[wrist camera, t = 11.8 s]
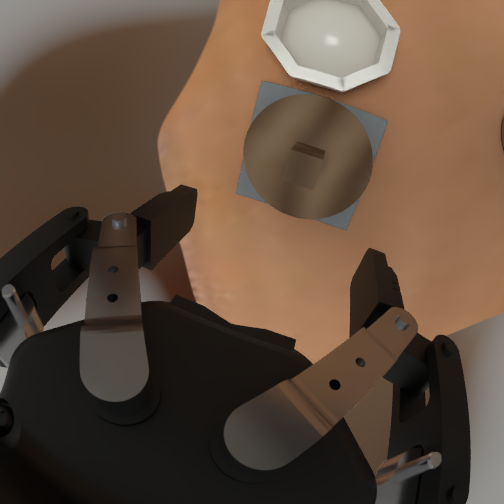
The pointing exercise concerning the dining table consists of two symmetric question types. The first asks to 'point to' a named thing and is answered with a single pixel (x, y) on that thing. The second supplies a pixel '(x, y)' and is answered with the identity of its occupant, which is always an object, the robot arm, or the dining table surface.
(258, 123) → the lid
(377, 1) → the bowl
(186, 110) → the dining table surface
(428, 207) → the dining table surface
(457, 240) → the dining table surface
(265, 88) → the mat
